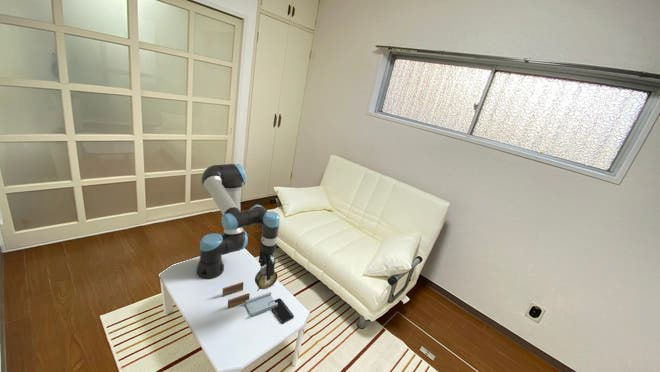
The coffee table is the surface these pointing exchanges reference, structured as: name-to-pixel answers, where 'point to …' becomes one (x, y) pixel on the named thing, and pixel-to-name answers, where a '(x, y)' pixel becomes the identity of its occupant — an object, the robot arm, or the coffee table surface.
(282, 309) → the phone
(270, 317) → the coffee table surface
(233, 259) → the coffee table surface
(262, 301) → the cradle
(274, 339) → the coffee table surface
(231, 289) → the channel
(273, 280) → the alarm clock
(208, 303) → the coffee table surface
